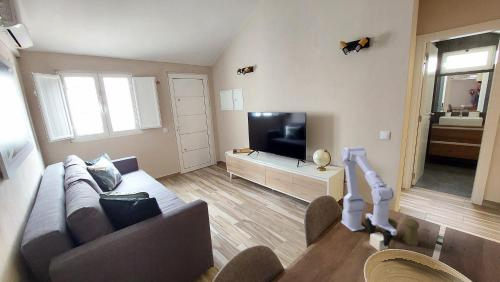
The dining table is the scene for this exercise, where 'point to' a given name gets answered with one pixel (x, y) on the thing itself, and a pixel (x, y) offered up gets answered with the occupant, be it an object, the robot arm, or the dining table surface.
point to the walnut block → (371, 247)
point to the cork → (411, 232)
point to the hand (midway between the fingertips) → (379, 239)
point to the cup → (392, 223)
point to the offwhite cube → (377, 241)
